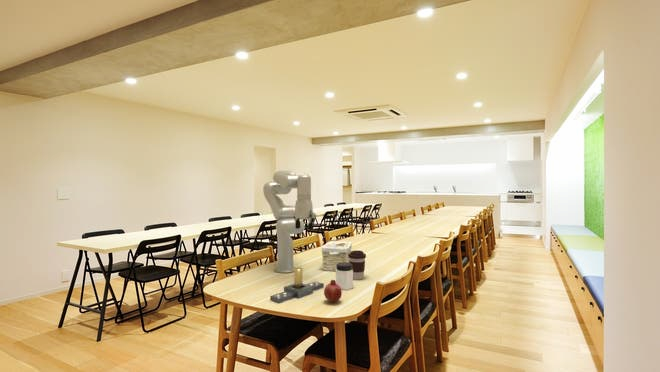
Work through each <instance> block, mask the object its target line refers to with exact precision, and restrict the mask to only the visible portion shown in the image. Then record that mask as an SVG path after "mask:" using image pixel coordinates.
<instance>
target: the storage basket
mask: <svg viewBox="0 0 660 372" xmlns="http://www.w3.org/2000/svg"><path fill="white" fill-rule="evenodd" d="M352 243H353V242H352V241H338V240H337V241H333V240H332V241H331V240H329V241H328V242H326V243H325V244H324V245H322V247H321V256H322V270H323V271H329V272H330V271H331V272H332V271H333V272H336V269H337V263H342V262H347V263H349V260H350V259H349V257H348V254H350V253H351V251H352V247H353V245H352Z"/></svg>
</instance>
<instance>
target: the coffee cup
mask: <svg viewBox="0 0 660 372" xmlns="http://www.w3.org/2000/svg"><path fill="white" fill-rule="evenodd" d="M348 257H349V259H350V260H349V263H351V264H352V270H353V280H356V281H359V280H363V279H364V277H365V268H366V267H365V266H366V260H365V259H366V258H367V254H366V253H364V251H362V250H351V253H350V254H348Z"/></svg>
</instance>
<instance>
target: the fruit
mask: <svg viewBox="0 0 660 372" xmlns="http://www.w3.org/2000/svg"><path fill="white" fill-rule="evenodd" d="M342 292H343V291H342V290H341V288H340V286H339V285H337V284H336V279H335V280H334V279H331V280H330V282H329V283H328V284H326V285H325V286H324V290H323V294H324V297H325V299H326V300H327V301H329V302H332V303H336V302H337V301H339V300H340V299H341V297H342V294H343V293H342Z"/></svg>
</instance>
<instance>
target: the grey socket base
mask: <svg viewBox="0 0 660 372" xmlns="http://www.w3.org/2000/svg"><path fill="white" fill-rule="evenodd" d="M323 288H324V289H325V284H324V283H323V282H319V281H312V282H310V283H303V288H300V289H296V288H294V283H293V284H288V285H286V286H283V291H280V292H277V293H276V294H273V295H270V298H269V299H270V300H269V301H271V302H274V303H277V304H281V303H284V302H287V301H290V300H292V299H295V298H296V299H301V298H303V297H307V296H308V295H311V294H314V292H315V291H317V290H320V289H323Z"/></svg>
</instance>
